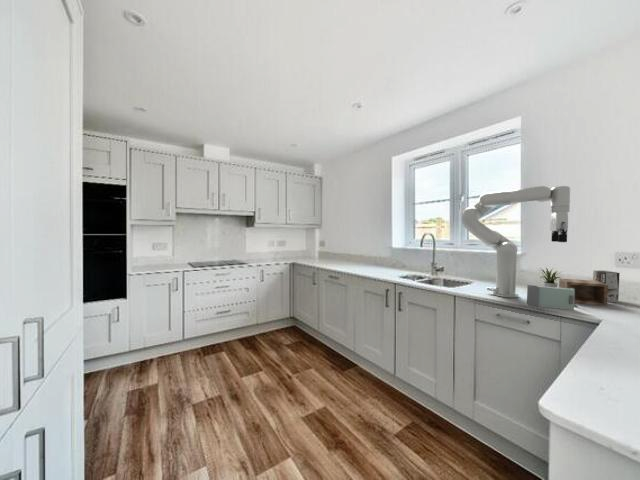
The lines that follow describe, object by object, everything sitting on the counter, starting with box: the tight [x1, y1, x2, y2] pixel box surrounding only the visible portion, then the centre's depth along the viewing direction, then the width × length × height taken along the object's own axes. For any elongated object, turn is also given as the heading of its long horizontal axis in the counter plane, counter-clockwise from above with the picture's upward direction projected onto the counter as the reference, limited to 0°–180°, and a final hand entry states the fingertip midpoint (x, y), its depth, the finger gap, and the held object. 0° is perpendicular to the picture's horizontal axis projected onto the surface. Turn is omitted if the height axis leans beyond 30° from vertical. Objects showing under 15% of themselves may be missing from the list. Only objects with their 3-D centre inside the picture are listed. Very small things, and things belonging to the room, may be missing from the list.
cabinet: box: [558, 277, 608, 308], centre depth 142 cm, size 18×22×11 cm
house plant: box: [537, 267, 563, 288], centre depth 168 cm, size 14×14×16 cm
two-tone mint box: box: [526, 284, 575, 311], centre depth 134 cm, size 18×4×10 cm, turn 63°
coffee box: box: [592, 270, 620, 303], centre depth 149 cm, size 9×6×16 cm
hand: (558, 241), depth 143 cm, fingers open, 9 cm apart
